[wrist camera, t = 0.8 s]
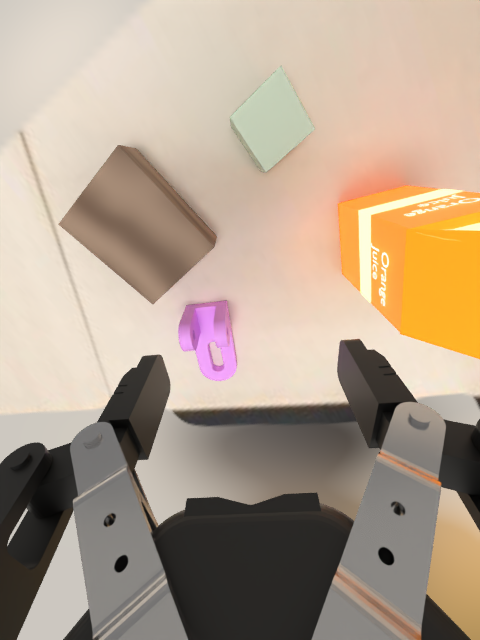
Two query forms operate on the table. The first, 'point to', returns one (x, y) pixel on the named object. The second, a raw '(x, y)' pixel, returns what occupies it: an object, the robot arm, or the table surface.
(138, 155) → the plate
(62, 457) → the robot arm
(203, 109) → the table surface
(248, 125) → the sage block
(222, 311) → the bracket
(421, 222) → the orange juice
